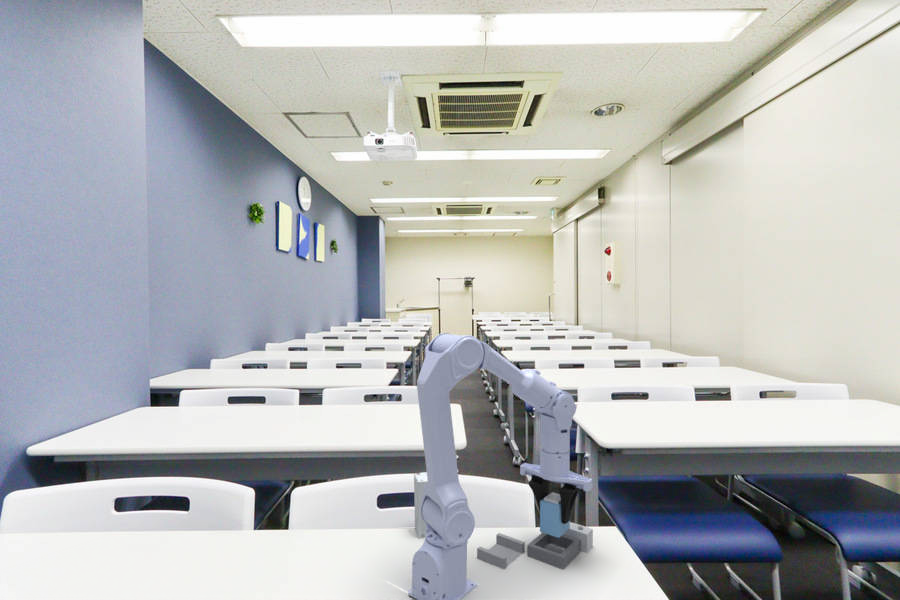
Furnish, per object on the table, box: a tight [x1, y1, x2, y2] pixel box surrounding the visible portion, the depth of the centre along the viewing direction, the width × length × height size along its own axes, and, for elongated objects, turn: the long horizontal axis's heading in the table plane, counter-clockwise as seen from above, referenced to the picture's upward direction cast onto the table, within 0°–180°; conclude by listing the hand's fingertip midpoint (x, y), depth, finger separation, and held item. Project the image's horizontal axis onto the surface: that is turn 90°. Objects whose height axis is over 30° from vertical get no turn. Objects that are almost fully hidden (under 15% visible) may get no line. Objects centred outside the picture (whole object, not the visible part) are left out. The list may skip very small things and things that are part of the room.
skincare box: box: [413, 471, 428, 539], centre depth 99 cm, size 6×4×12 cm
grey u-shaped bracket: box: [476, 532, 526, 570], centre depth 90 cm, size 8×6×2 cm
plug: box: [539, 491, 571, 538], centre depth 91 cm, size 5×4×6 cm
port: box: [526, 521, 594, 571], centre depth 92 cm, size 12×10×4 cm
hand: (554, 518), depth 91 cm, fingers closed on plug, 4 cm apart
